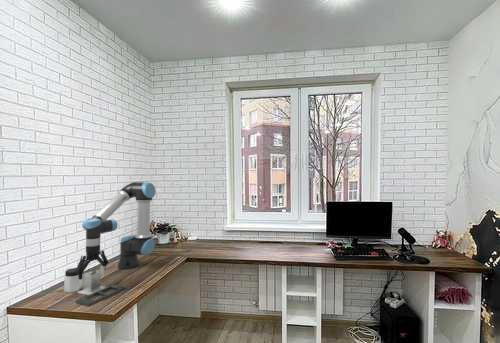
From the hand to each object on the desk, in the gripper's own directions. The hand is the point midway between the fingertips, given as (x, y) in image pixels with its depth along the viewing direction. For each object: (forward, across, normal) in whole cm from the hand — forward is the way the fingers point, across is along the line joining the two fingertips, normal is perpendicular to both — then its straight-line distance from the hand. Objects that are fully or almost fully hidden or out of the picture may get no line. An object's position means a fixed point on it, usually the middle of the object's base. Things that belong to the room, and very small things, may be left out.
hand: (92, 280), depth 161 cm
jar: (+6, +4, -11) cm, 13 cm away
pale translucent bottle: (+5, 0, 0) cm, 5 cm away
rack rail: (+6, +3, +12) cm, 14 cm away
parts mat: (+6, 0, 0) cm, 6 cm away
